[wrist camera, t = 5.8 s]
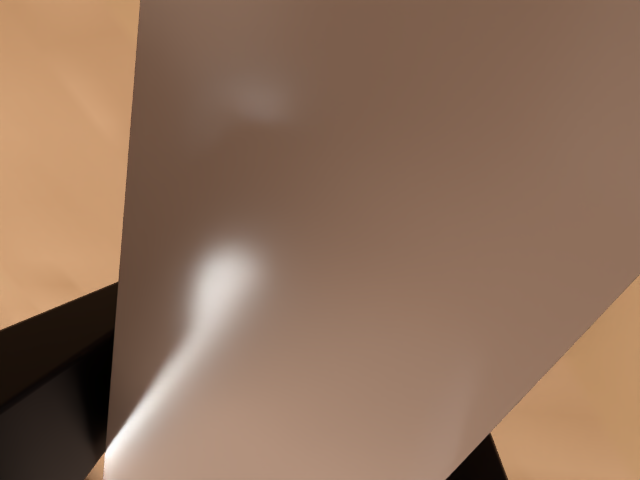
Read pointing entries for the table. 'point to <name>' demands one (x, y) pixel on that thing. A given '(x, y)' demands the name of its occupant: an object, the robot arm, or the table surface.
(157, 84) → the beige long block
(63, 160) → the table surface
